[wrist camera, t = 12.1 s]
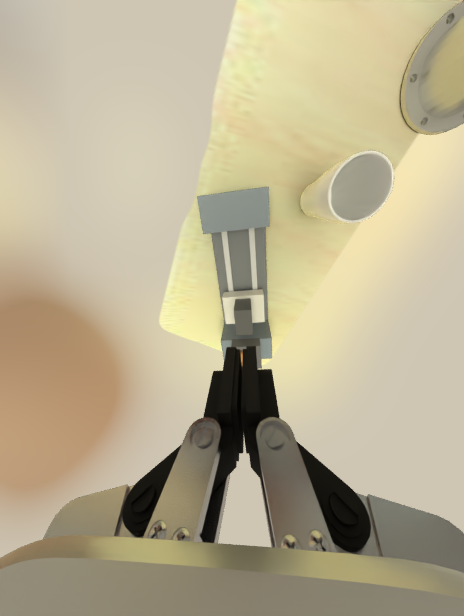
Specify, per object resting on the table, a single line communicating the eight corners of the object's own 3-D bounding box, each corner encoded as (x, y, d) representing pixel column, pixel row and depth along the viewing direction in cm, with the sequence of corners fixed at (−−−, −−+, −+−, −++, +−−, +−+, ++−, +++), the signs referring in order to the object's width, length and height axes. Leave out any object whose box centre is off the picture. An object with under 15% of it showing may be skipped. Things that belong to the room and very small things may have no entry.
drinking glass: (343, 193, 33) (410, 177, 19) (314, 228, 35) (356, 236, 22) (314, 167, 31) (365, 131, 18) (287, 206, 34) (313, 199, 21)
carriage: (223, 292, 39) (218, 309, 32) (262, 289, 38) (266, 306, 31) (227, 317, 42) (223, 338, 34) (263, 315, 41) (267, 336, 34)
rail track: (208, 200, 34) (192, 194, 24) (263, 193, 33) (270, 183, 23) (227, 336, 48) (222, 369, 37) (267, 334, 46) (273, 367, 36)
